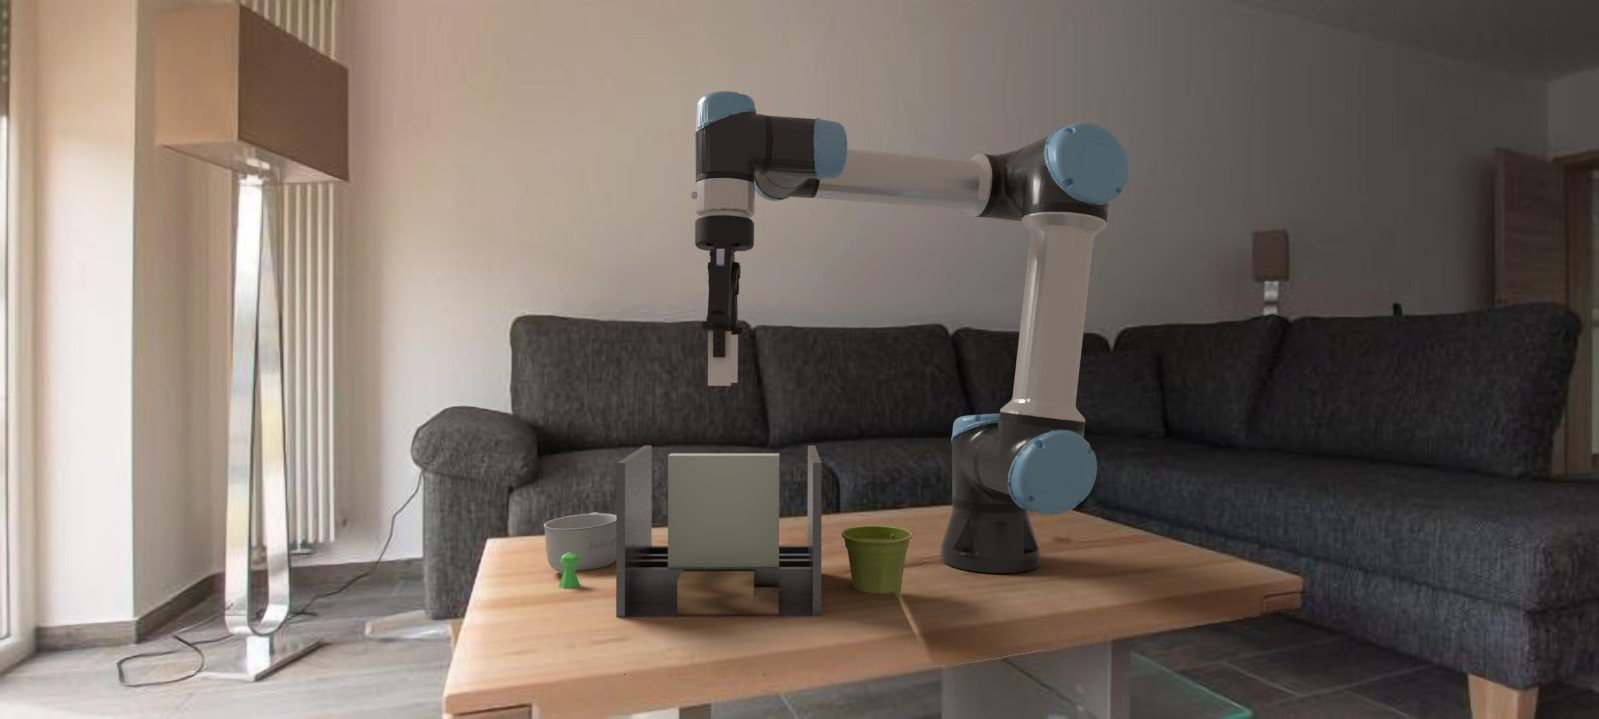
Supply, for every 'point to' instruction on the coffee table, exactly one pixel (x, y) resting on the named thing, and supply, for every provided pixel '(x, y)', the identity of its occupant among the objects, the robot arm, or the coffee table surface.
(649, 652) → the coffee table surface
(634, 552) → the rack
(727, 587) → the offcut upper
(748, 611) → the offcut lower
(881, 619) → the coffee table surface
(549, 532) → the teacup
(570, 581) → the game piece
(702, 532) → the sage panel
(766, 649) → the coffee table surface
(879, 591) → the plant pot
